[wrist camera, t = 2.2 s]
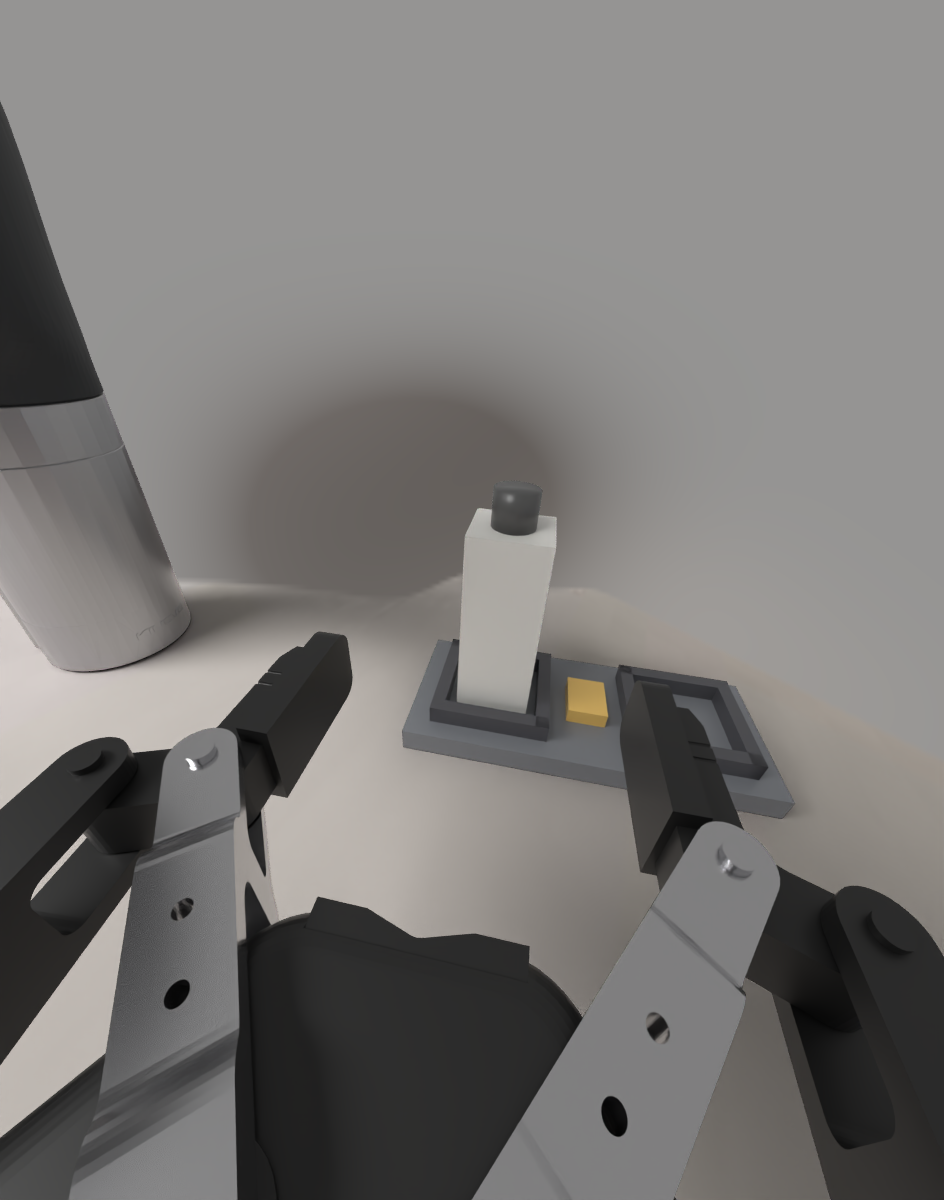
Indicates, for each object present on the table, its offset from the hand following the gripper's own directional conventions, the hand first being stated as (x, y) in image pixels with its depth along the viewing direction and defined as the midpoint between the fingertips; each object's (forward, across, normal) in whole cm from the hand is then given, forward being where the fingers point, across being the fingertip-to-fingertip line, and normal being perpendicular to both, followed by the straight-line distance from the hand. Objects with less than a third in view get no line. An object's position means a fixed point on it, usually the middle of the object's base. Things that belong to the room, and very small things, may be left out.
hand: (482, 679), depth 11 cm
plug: (+12, 0, +12) cm, 17 cm away
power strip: (+12, -6, +14) cm, 19 cm away
